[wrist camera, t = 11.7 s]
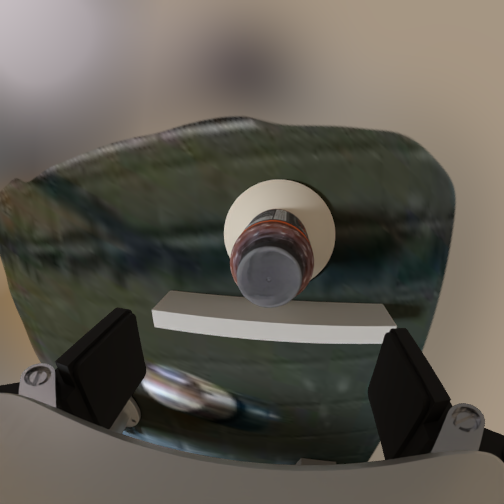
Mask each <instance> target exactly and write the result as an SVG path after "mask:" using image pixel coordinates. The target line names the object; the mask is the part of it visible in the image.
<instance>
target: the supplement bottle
mask: <svg viewBox="0 0 504 504" xmlns="http://www.w3.org/2000/svg"><path fill="white" fill-rule="evenodd" d="M230 268H231V272H232V276H233V278H234V280H235V282H236V284H237V285H238V287H239V289H240V291H241V293H242V294H243V296H244V297H245V298H246V299H248V300H249V301H250V302H252V303H253V304H256V305H258V306H261V307H265V308H274V307H279V306H282V305H285V304H287V303H288V302H290V301H291V300H292V299H293V298H294V297H295V296H297V295H298V294H300V293H301V292H302V291H303V290H304V289H305V287H306V286H307V285H308V283H309V281H310V279H311V277H312V274H313V269H314V255H313V251H312V247H311V244H310V241H309V238H308V234H307V232H306V229H305V227H304V225H303V224H302V222H301V221H300V220H299V218H297V217H296V216H295V215H294V214H292V213H290V212H289V211H286V210H282V209H270V210H267V211H264V212H262V213H260V214H259V215H257V216H256V217H255V218H254V219H253V220H252V221H251V222H250V223H249V225H248V226H247V227H246V228H245V230H244V231H243V232H242V233H241V235H240V236H239V237H238V239H237V240H236V242H235V244H234V246H233V249H232V252H231V257H230Z"/></svg>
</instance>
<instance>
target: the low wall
mask: <svg viewBox="0 0 504 504" xmlns="http://www.w3.org/2000/svg"><path fill="white" fill-rule="evenodd" d="M152 314H153V321H154V327H158V328H165V329H171V330H178V331H185V332H192V333H199V334H207V335H216V336H225V337H234V338H244V339H256V340H268V341H283V342H302V343H330V344H382V343H383V339H384V336H385V334H386V333H387V332H389V331H390V329H392V328H396V327H397V326H396V324H395V323H394V321H393V319H392V318H391V316H390V315H389V313H388V311H387V310H386V308H385V307H384V305H383V304H368V303H335V302H312V301H293V300H291V301H290V302H288V303H287V304H285V305H282V306H279V307H274V308H265V307H261V306H258V305H256V304H253V303H252V302H250V301H249V300H248V299H246V298H245V297H235V296H223V295H212V294H201V293H191V292H181V291H172V290H170V291H169V292H168V293H167V294H166V295H165V297H164V298H163V299H162V300H161V301H160V302H159V303H158V304H157V305H156V306H155V307H154V308H153V309H152Z"/></svg>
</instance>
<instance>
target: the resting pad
mask: <svg viewBox="0 0 504 504" xmlns="http://www.w3.org/2000/svg"><path fill="white" fill-rule="evenodd" d="M270 209H282V210H286V211H289V212H290V213H292V214H294V215H295V216H296V217H297V218H299V220H300V221H301V222H302V224H303V225H304V227H305V229H306V232H307V234H308V238H309V241H310V244H311V247H312V251H313V255H314V269H313V274H312V277H311V279H312V278H314V277H315V276H316V275H317V274H318V273H319V272H321V270H322V269H323V268H324V267H325V265H326V264H327V262H328V261H329V259H330V257H331V254H332V252H333V248H334V244H335V225H334V221H333V217H332V215H331V212H330V210H329V208H328V207H327V205H326V204H325V202H324V201H323V200H322V198H321V197H320V196H319V195H318V194H317V193H315V192H314V191H313V190H311V189H310V188H308V187H306V186H305V185H303V184H300V183H298V182H294V181H290V180H283V179H278V180H269V181H264V182H261V183H258V184H256V185H254V186H252V187H250V188H249V189H247V190H246V191H245V192H243V193H242V194H241V195H240V196H239V197H238V198H237V199H236V200H235V202H234V203H233V205H232V206H231V208H230V210H229V212H228V215H227V218H226V221H225V226H224V241H225V246H226V249H227V252H228V255H229V257H231V252H232V249H233V246H234V244H235V242H236V240H237V239H238V237H239V236H240V235H241V233H242V232H243V231H244V230H245V228H246V227H247V226H248V225H249V223H250V222H251V221H252V220H253V219H254V218H255V217H256V216H257V215H259V214H260V213H262V212H264V211H267V210H270ZM311 279H310V280H311Z"/></svg>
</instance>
